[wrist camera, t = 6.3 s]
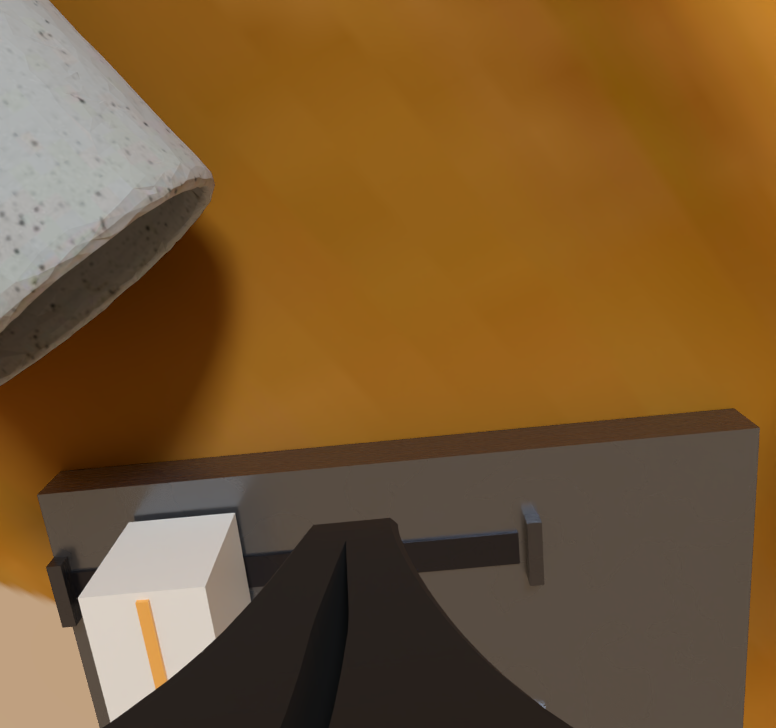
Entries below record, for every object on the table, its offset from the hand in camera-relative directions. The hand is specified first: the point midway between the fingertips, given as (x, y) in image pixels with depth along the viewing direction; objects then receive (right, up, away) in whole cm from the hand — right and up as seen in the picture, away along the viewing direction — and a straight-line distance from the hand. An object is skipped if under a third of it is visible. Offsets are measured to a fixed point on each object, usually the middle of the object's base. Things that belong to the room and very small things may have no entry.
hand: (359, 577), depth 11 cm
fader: (-5, -3, +9) cm, 11 cm away
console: (+1, -5, +12) cm, 13 cm away
